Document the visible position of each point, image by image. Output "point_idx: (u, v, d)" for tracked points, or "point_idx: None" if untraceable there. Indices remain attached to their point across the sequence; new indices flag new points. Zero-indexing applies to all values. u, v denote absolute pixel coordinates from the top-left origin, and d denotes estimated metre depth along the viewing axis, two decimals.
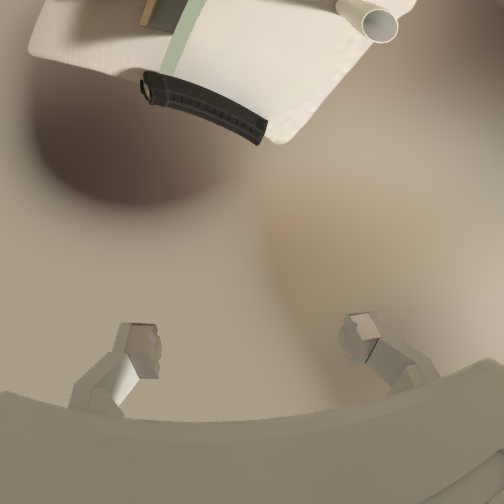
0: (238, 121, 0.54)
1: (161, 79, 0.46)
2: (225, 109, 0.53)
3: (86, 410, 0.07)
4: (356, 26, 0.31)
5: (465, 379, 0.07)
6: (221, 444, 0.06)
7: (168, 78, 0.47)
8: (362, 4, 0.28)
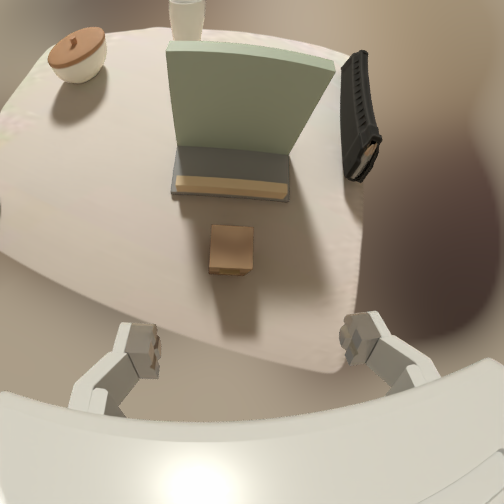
0: (355, 73, 0.43)
1: (349, 154, 0.42)
2: (351, 89, 0.44)
3: (86, 410, 0.07)
4: (200, 10, 0.35)
5: (465, 379, 0.07)
6: (221, 444, 0.06)
7: (345, 152, 0.44)
8: (175, 19, 0.35)
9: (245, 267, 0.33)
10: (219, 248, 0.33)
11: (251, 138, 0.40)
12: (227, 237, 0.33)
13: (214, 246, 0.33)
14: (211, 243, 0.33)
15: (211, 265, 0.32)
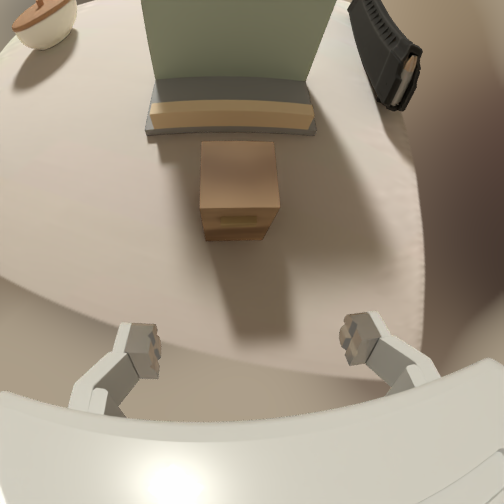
0: (367, 3, 0.28)
1: (382, 77, 0.27)
2: (366, 19, 0.29)
3: (86, 410, 0.07)
4: None
5: (465, 379, 0.07)
6: (221, 444, 0.06)
7: (375, 79, 0.29)
8: None
9: (267, 205, 0.17)
10: (217, 176, 0.18)
11: (255, 55, 0.25)
12: (229, 158, 0.18)
13: (207, 174, 0.18)
14: (202, 169, 0.18)
15: (203, 205, 0.17)
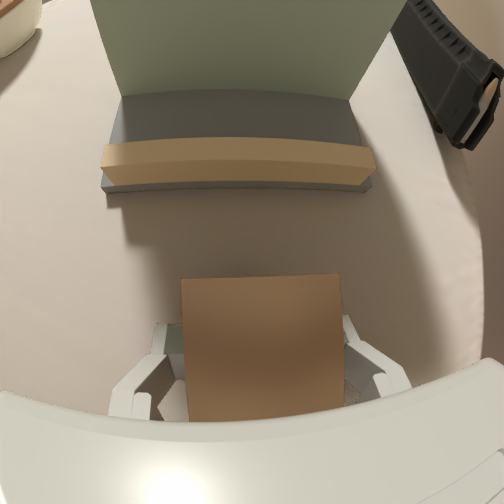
0: None
1: (448, 100, 0.18)
2: (412, 16, 0.20)
3: (129, 416, 0.07)
4: None
5: (465, 379, 0.07)
6: (221, 444, 0.06)
7: (435, 100, 0.20)
8: None
9: None
10: (221, 371, 0.08)
11: (277, 56, 0.15)
12: (246, 325, 0.08)
13: (199, 366, 0.08)
14: (187, 354, 0.08)
15: None
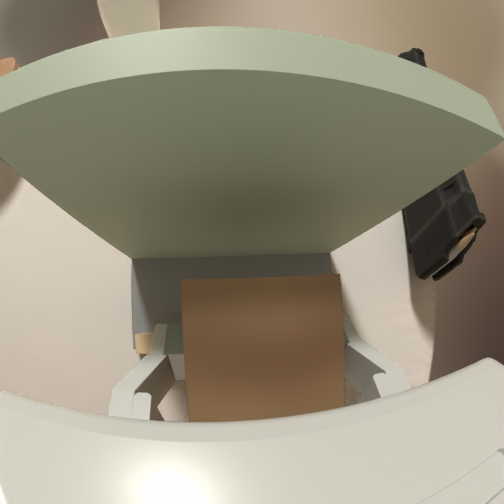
0: None
1: (424, 236, 0.24)
2: None
3: (129, 416, 0.07)
4: None
5: (465, 379, 0.07)
6: (221, 444, 0.06)
7: (414, 229, 0.26)
8: (109, 19, 0.18)
9: None
10: (221, 372, 0.08)
11: (265, 245, 0.21)
12: (247, 326, 0.08)
13: (199, 367, 0.08)
14: (188, 355, 0.08)
15: None
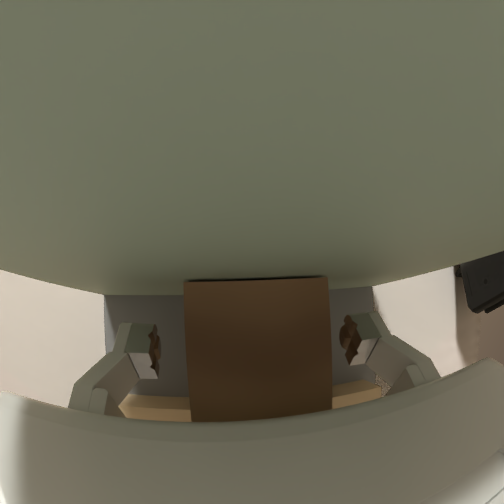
0: None
1: (481, 260, 0.17)
2: None
3: (86, 410, 0.07)
4: None
5: (465, 379, 0.07)
6: (221, 444, 0.06)
7: None
8: None
9: (310, 411, 0.09)
10: (219, 365, 0.09)
11: None
12: (242, 324, 0.09)
13: (199, 361, 0.09)
14: (189, 350, 0.09)
15: (199, 420, 0.08)
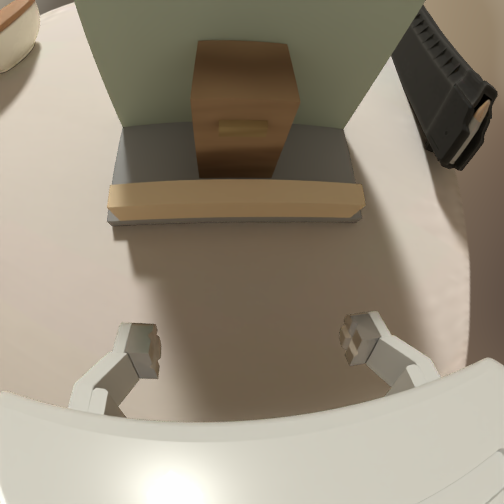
0: None
1: (439, 120, 0.19)
2: (409, 31, 0.21)
3: (86, 410, 0.07)
4: None
5: (465, 379, 0.07)
6: (221, 444, 0.06)
7: (427, 120, 0.21)
8: None
9: (282, 98, 0.11)
10: (216, 69, 0.12)
11: None
12: (232, 54, 0.12)
13: (203, 67, 0.11)
14: (197, 63, 0.12)
15: (196, 96, 0.11)
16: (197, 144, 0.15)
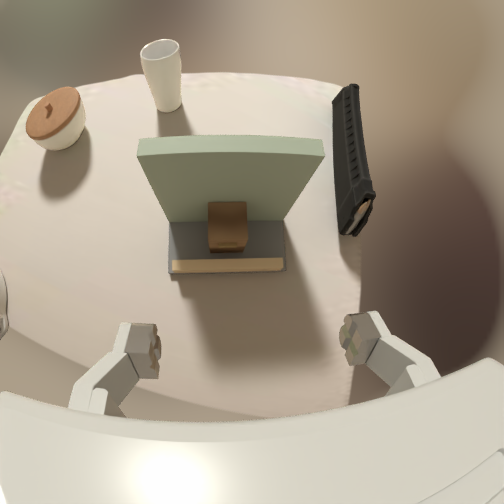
0: (347, 112, 0.44)
1: (342, 208, 0.43)
2: (342, 131, 0.46)
3: (86, 410, 0.07)
4: (175, 63, 0.37)
5: (465, 379, 0.07)
6: (221, 444, 0.06)
7: (339, 205, 0.45)
8: (150, 75, 0.38)
9: (241, 238, 0.36)
10: (216, 223, 0.36)
11: None
12: (222, 212, 0.36)
13: (211, 221, 0.36)
14: (208, 219, 0.36)
15: (210, 238, 0.35)
16: (210, 246, 0.39)
